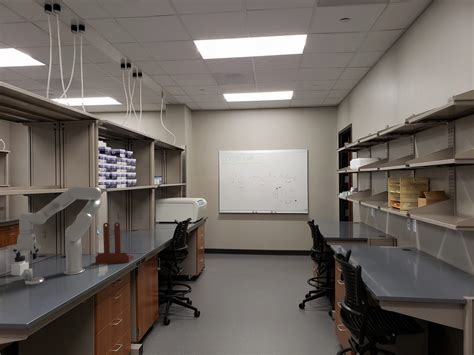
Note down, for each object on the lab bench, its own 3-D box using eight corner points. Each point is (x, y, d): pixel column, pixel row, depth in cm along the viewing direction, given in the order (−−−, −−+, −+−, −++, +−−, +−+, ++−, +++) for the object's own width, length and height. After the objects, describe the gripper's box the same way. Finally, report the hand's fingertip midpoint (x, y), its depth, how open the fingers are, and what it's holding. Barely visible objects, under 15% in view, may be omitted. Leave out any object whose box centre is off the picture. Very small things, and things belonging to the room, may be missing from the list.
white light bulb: (26, 278, 214) (26, 268, 214) (34, 277, 214) (33, 268, 214) (20, 281, 207) (20, 271, 207) (28, 280, 208) (28, 271, 208)
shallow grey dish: (30, 280, 209) (30, 277, 209) (47, 279, 209) (47, 276, 209) (21, 285, 199) (21, 282, 199) (38, 284, 199) (38, 281, 199)
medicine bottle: (29, 272, 226) (28, 254, 226) (20, 275, 219) (19, 257, 219) (20, 272, 228) (19, 254, 228) (11, 275, 221) (10, 257, 221)
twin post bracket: (133, 258, 259) (132, 219, 259) (128, 262, 246) (127, 222, 246) (102, 259, 258) (100, 220, 258) (95, 263, 245) (94, 223, 245)
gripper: (43, 231, 216) (43, 257, 215) (15, 231, 214) (15, 258, 214) (37, 233, 208) (37, 260, 208) (8, 233, 207) (8, 261, 207)
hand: (26, 259), depth 211 cm, fingers open, 9 cm apart
